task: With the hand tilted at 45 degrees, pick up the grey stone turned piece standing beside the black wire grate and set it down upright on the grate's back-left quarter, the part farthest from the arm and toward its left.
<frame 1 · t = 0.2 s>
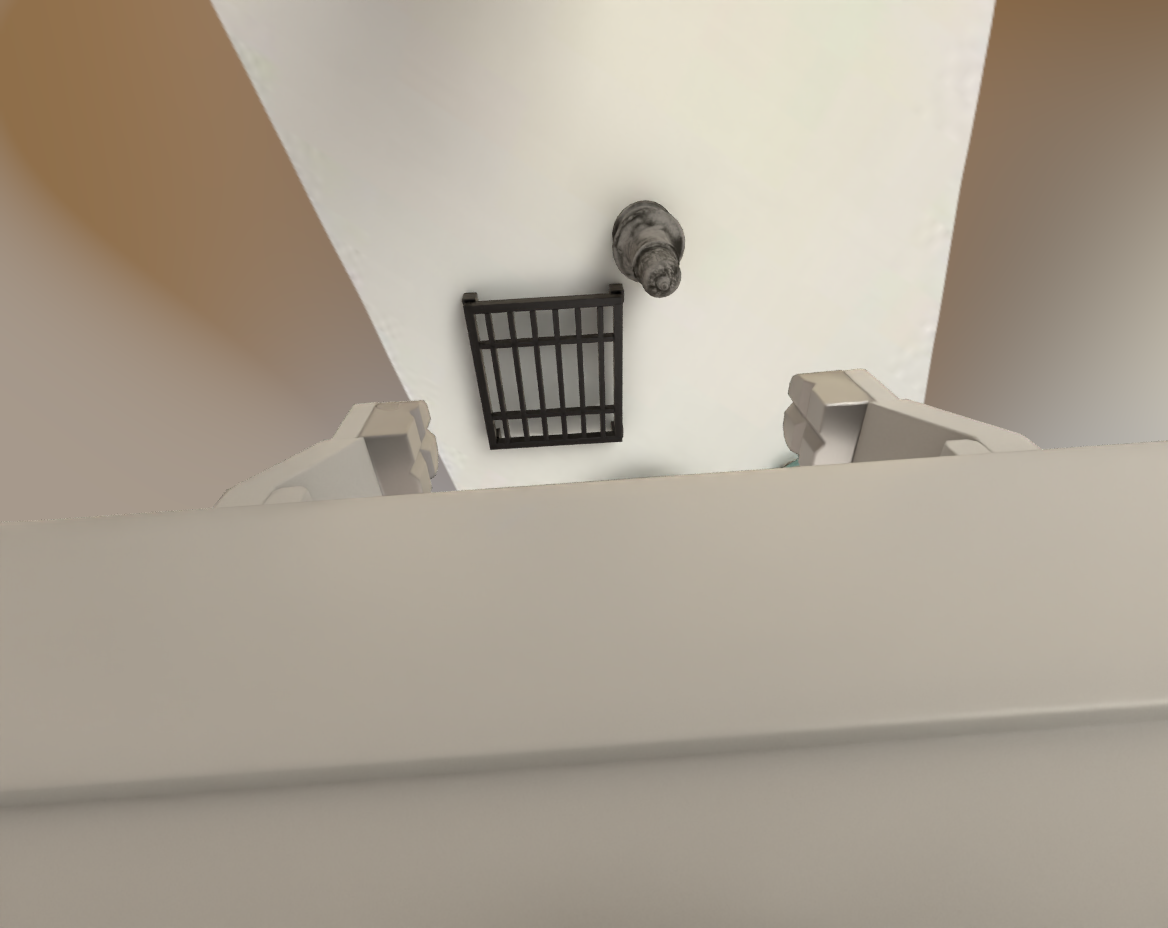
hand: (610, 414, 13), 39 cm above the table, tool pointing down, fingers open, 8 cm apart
grate: (550, 367, 56), on the table
grey stone turned piece: (642, 232, 48), on the table
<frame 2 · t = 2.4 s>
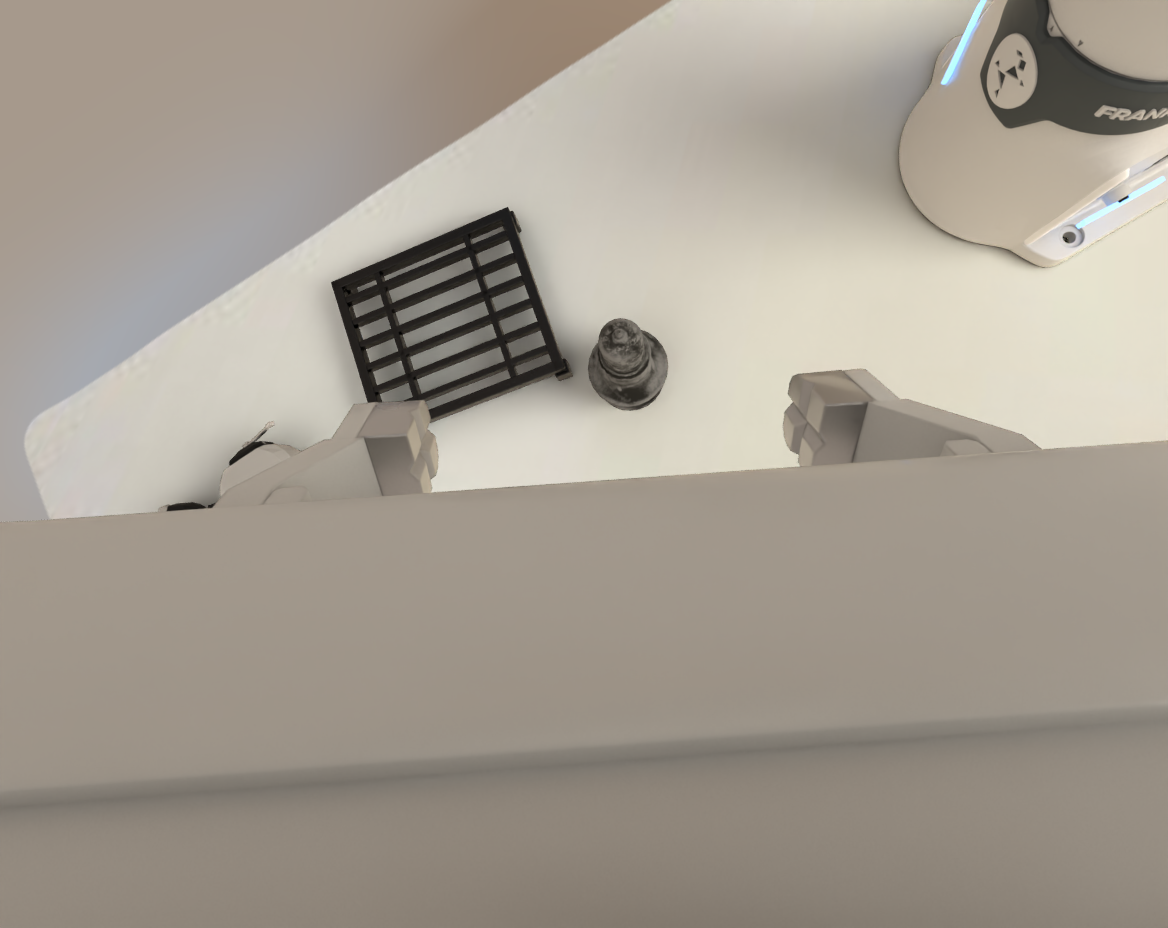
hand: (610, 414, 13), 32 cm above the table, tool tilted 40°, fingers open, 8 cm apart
robot toy: (270, 527, 48), on the table
grate: (454, 332, 47), on the table
grey stone turned piece: (630, 378, 45), on the table
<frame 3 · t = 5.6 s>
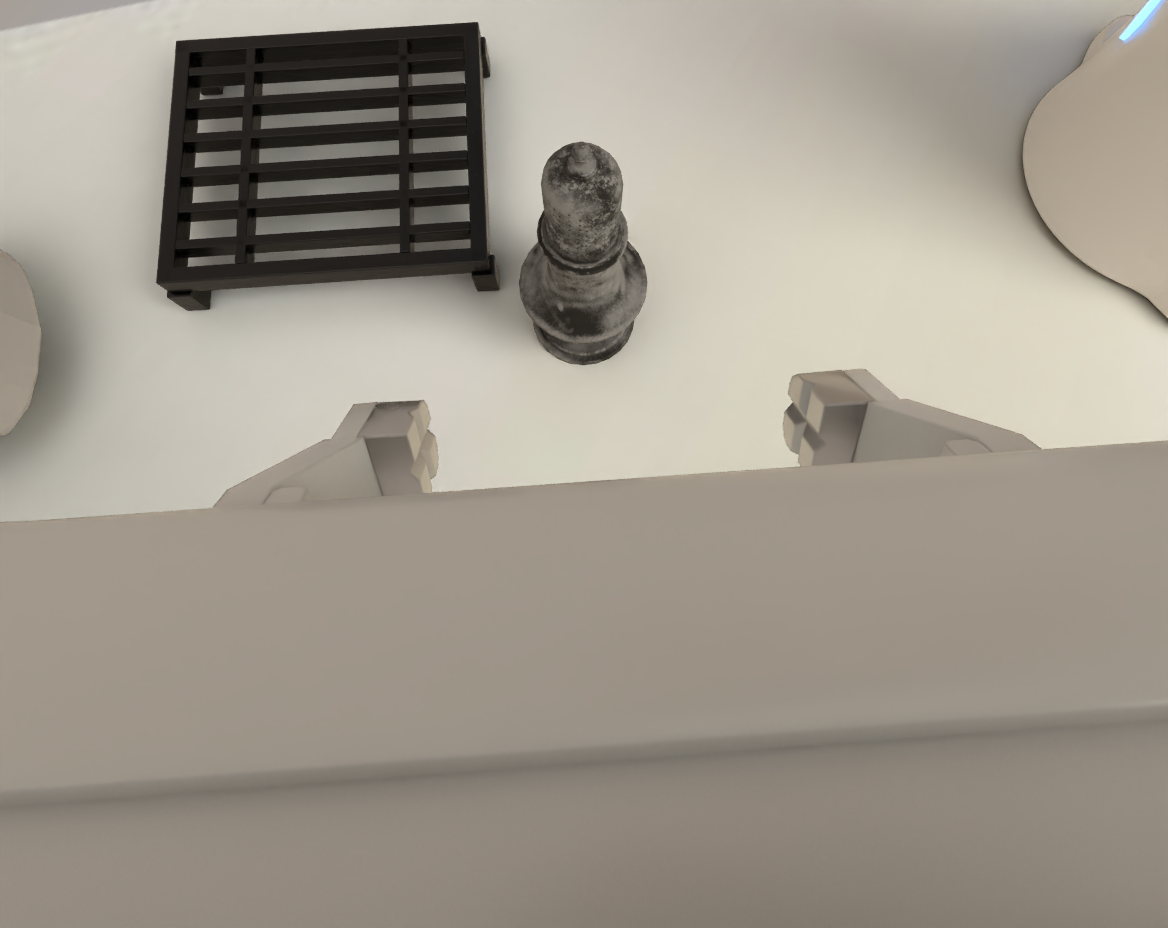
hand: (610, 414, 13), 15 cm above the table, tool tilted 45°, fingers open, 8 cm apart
grate: (345, 180, 31), on the table
grey stone turned piece: (583, 318, 29), on the table
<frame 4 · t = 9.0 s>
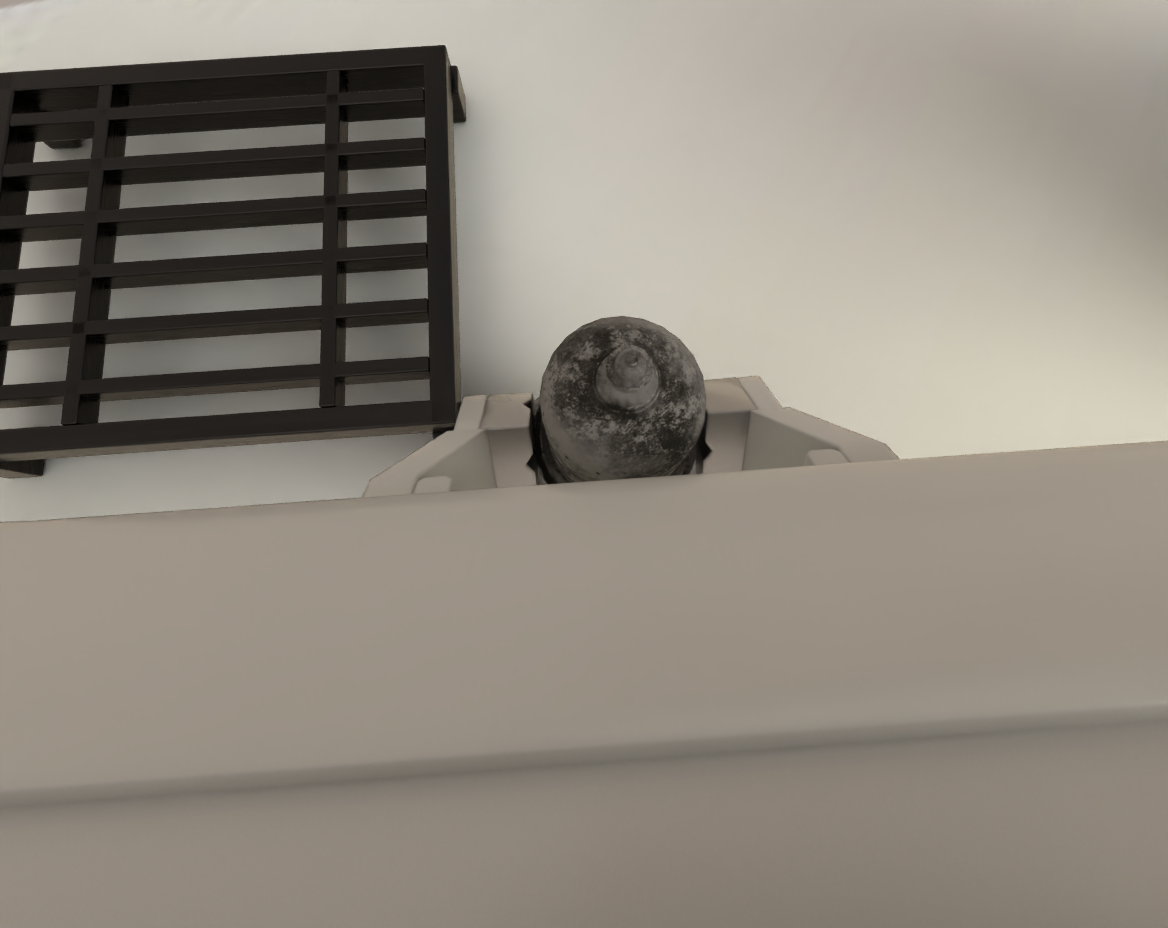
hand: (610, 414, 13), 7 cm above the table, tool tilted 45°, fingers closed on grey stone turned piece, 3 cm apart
grate: (253, 275, 21), on the table
grey stone turned piece: (603, 488, 20), on the table, touching gripper
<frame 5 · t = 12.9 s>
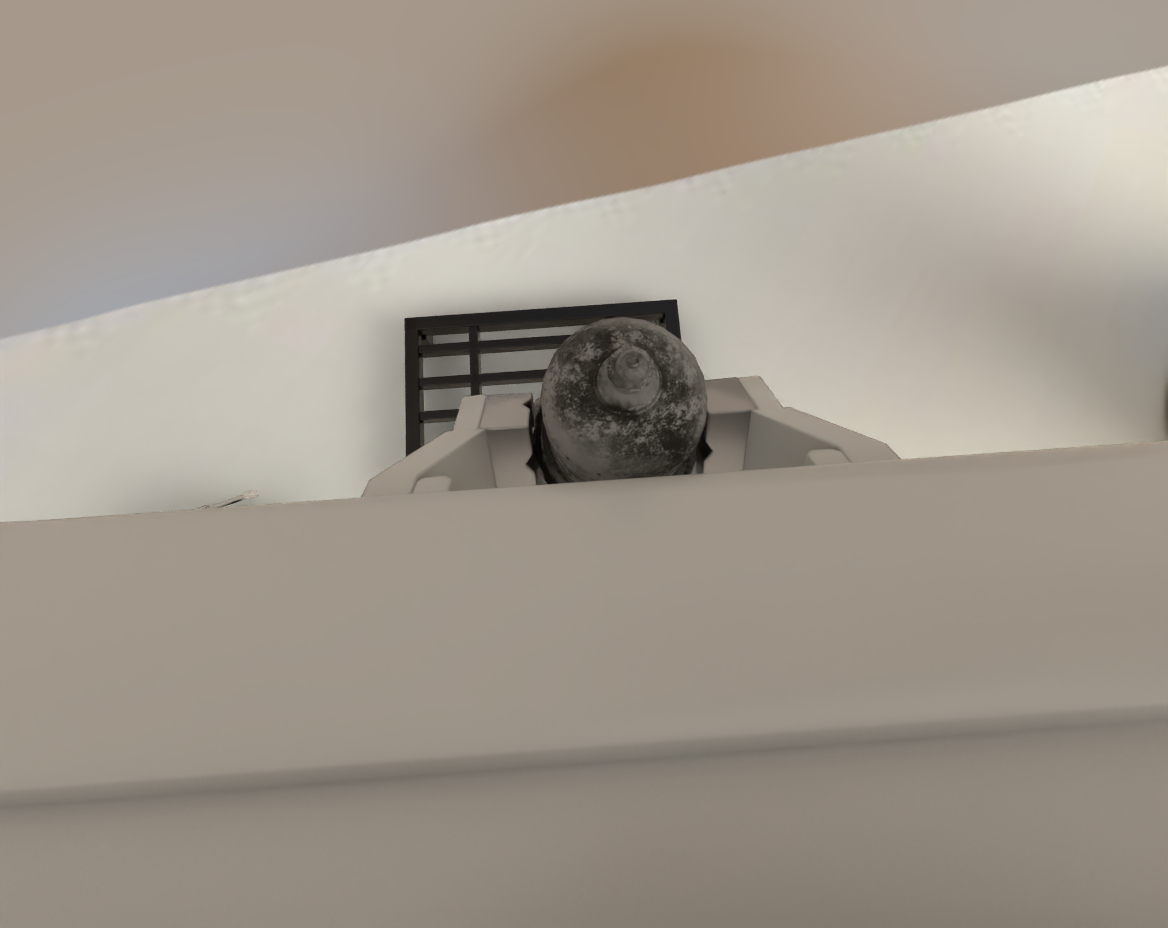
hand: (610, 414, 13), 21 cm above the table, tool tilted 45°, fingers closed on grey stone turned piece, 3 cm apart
grate: (550, 434, 34), on the table
grey stone turned piece: (603, 489, 20), point 13 cm above the table, touching gripper
when the fingers open (9 cm above the table, at t = 17.1 s): grey stone turned piece stays where it is, resting on grate.
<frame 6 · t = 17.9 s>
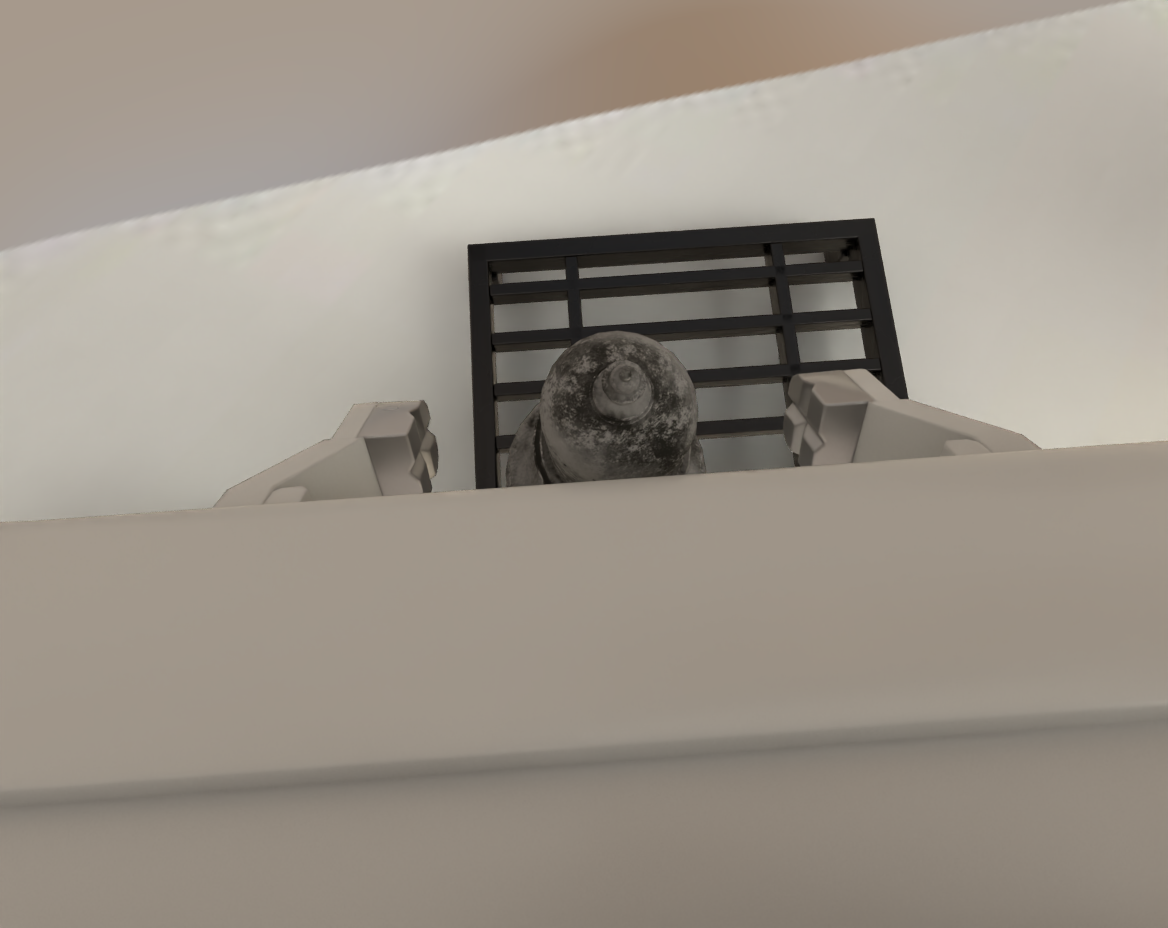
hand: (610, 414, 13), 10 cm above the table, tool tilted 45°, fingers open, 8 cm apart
grate: (679, 420, 23), on the table
grey stone turned piece: (602, 491, 20), point 2 cm above the table, touching grate
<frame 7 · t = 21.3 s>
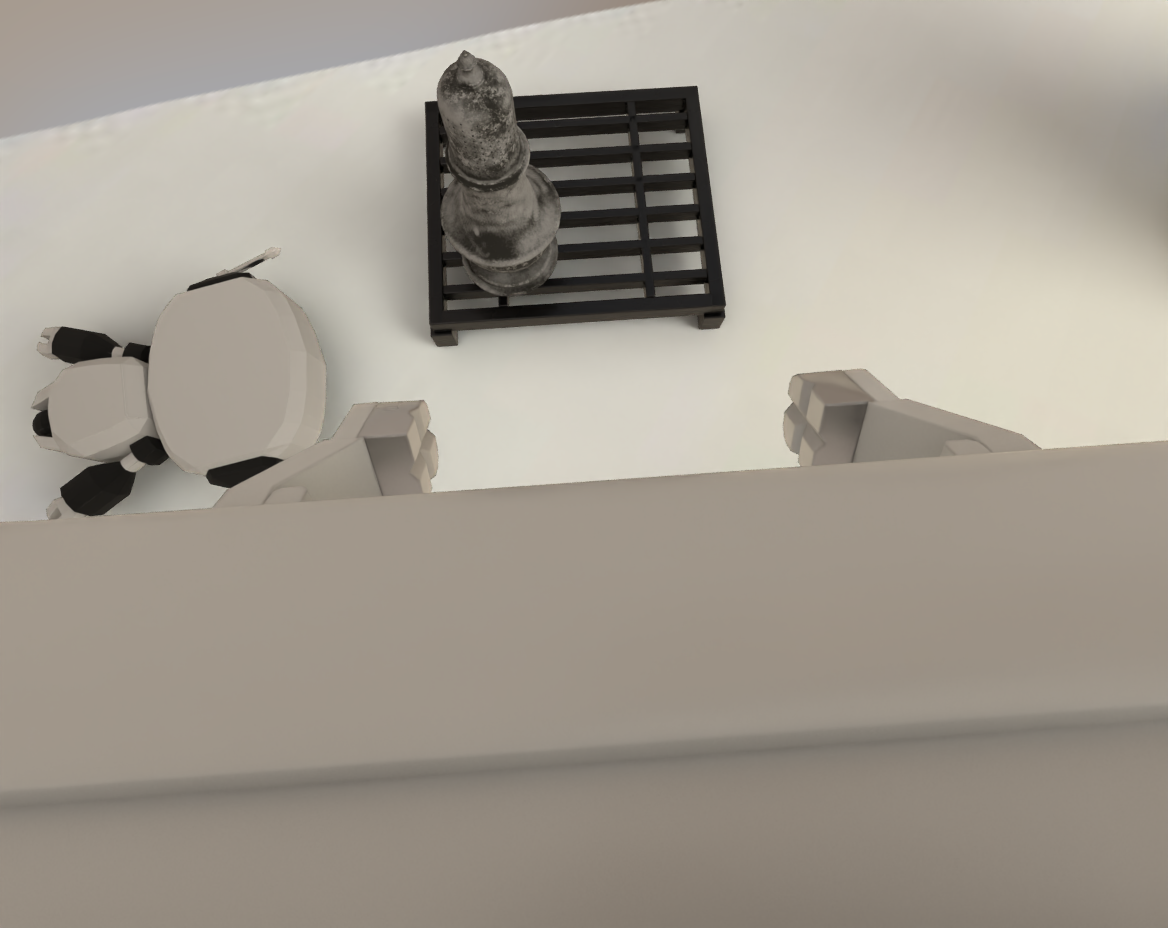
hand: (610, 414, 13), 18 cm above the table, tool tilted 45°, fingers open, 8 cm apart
robot toy: (213, 409, 32), on the table
grate: (570, 226, 34), on the table
grey stone turned piece: (510, 254, 31), point 2 cm above the table, touching grate
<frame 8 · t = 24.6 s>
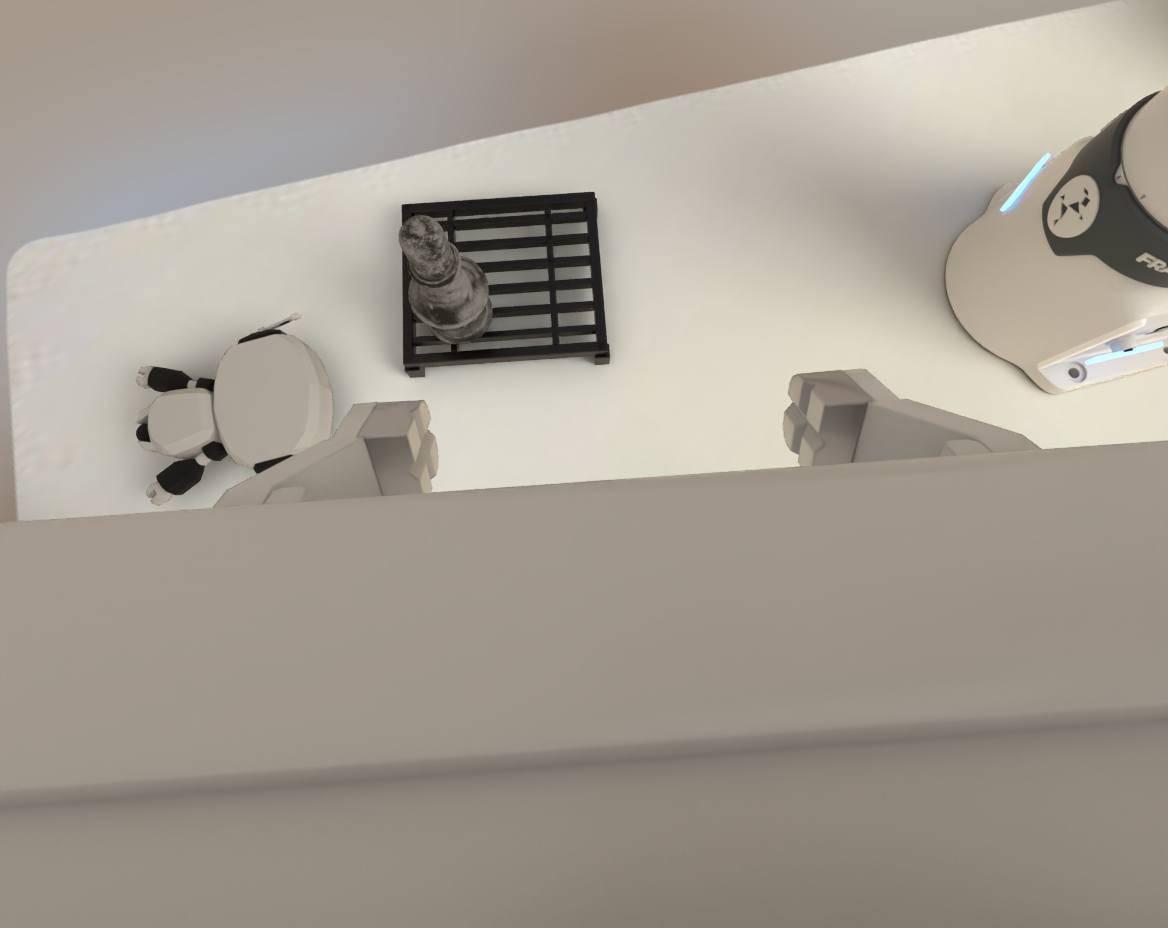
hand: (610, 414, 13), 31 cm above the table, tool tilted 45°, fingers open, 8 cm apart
robot toy: (254, 422, 45), on the table
grate: (506, 290, 47), on the table
grey stone turned piece: (460, 314, 44), point 2 cm above the table, touching grate
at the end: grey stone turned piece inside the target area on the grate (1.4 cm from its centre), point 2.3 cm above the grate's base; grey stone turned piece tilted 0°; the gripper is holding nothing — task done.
